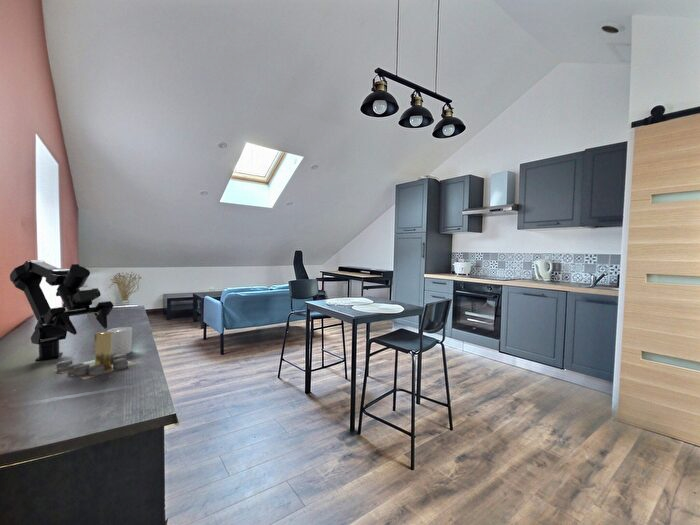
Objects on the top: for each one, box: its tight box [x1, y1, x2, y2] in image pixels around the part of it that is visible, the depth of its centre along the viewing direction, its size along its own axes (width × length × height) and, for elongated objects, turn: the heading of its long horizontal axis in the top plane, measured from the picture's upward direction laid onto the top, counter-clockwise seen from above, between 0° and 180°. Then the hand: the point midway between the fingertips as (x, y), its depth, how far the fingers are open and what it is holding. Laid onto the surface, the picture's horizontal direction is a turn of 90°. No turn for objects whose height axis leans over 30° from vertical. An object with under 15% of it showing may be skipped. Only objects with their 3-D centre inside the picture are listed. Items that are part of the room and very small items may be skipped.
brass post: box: [94, 330, 112, 370], centre depth 109 cm, size 4×4×12 cm
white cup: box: [107, 326, 133, 355], centre depth 127 cm, size 8×8×10 cm
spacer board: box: [52, 353, 138, 380], centre depth 111 cm, size 19×16×3 cm
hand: (91, 330), depth 112 cm, fingers open, 9 cm apart
